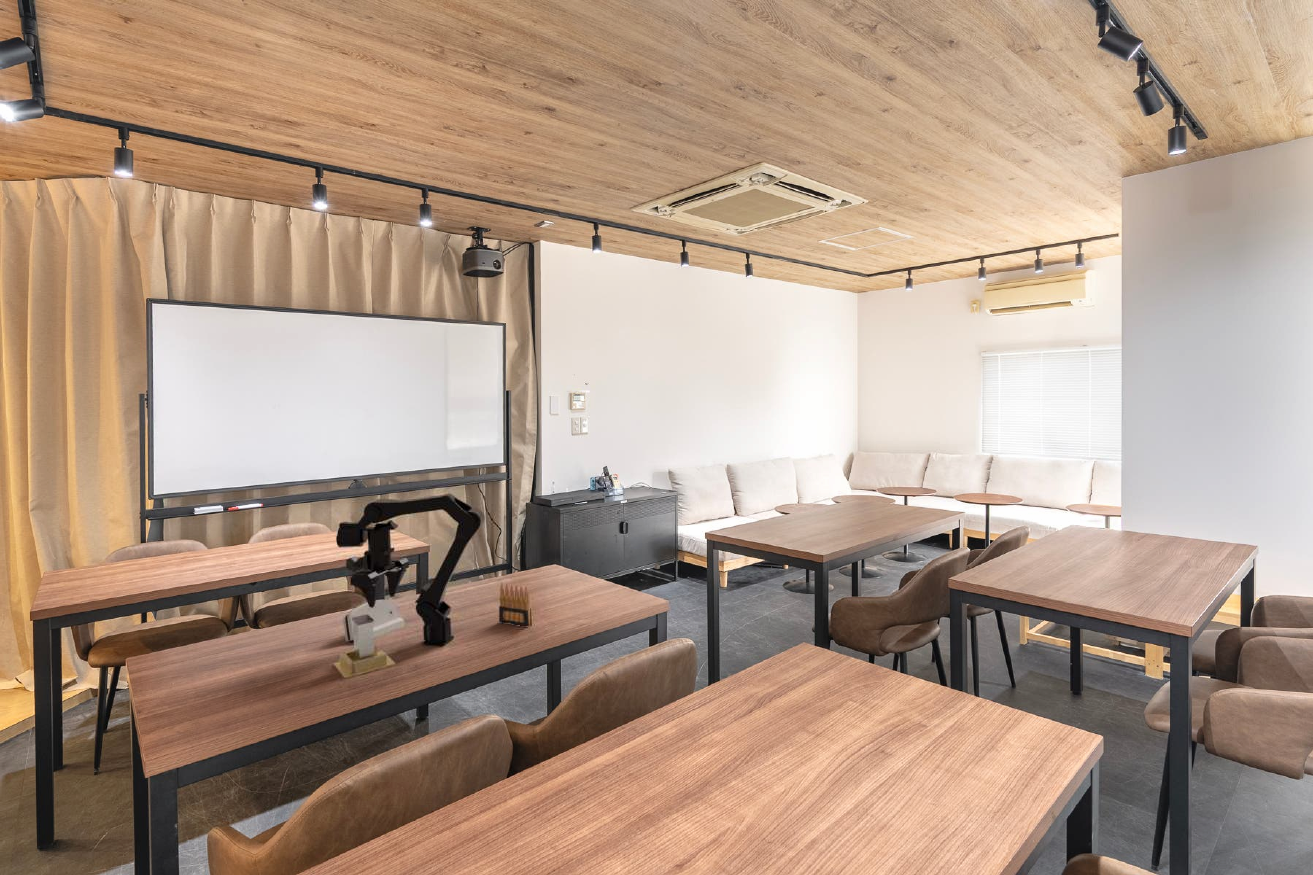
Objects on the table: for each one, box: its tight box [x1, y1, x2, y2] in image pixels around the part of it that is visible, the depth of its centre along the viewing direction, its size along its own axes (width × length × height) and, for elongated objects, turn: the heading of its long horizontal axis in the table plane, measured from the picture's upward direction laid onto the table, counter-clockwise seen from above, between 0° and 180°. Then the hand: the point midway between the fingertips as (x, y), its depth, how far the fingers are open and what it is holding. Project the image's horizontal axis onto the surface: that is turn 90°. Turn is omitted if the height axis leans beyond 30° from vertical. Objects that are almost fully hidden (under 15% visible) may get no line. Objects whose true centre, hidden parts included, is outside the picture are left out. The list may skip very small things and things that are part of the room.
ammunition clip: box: [498, 583, 533, 627], centre depth 191 cm, size 11×2×12 cm, turn 65°
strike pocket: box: [333, 644, 396, 679], centre depth 164 cm, size 12×11×3 cm
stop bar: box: [352, 614, 375, 661], centre depth 164 cm, size 4×5×12 cm
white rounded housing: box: [342, 599, 406, 642], centre depth 187 cm, size 17×5×10 cm, turn 151°
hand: (382, 601), depth 177 cm, fingers open, 9 cm apart
